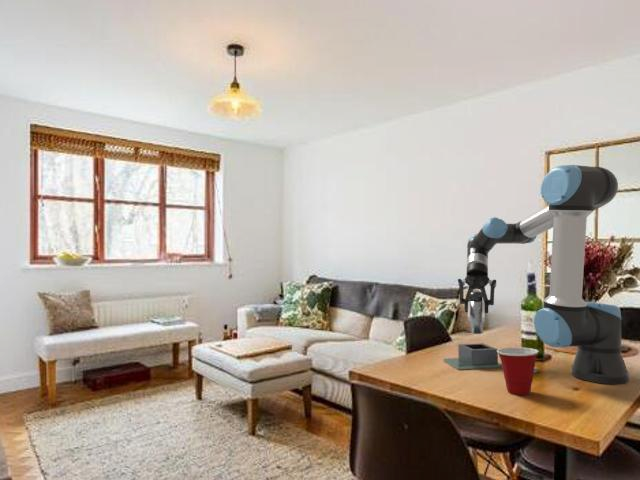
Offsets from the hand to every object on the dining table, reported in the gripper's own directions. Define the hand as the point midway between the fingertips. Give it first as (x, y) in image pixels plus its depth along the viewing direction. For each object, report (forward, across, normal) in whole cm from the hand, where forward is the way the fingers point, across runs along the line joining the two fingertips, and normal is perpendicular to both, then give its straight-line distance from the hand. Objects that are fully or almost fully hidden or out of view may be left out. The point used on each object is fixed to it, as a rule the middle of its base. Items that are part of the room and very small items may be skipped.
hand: (476, 319), depth 154 cm
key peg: (+1, 0, -6) cm, 6 cm away
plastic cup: (+29, -12, +6) cm, 32 cm away
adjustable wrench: (+18, -13, -6) cm, 23 cm away
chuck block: (+10, +1, -13) cm, 16 cm away
